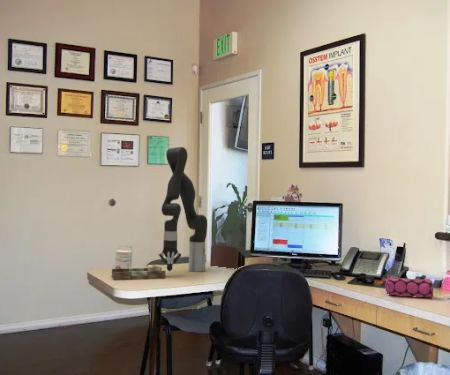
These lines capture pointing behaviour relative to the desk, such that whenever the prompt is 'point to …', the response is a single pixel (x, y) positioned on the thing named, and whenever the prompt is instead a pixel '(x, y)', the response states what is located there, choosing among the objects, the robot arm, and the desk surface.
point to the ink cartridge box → (123, 257)
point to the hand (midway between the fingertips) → (169, 270)
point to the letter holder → (226, 257)
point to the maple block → (154, 268)
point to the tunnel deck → (136, 274)
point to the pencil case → (409, 287)
